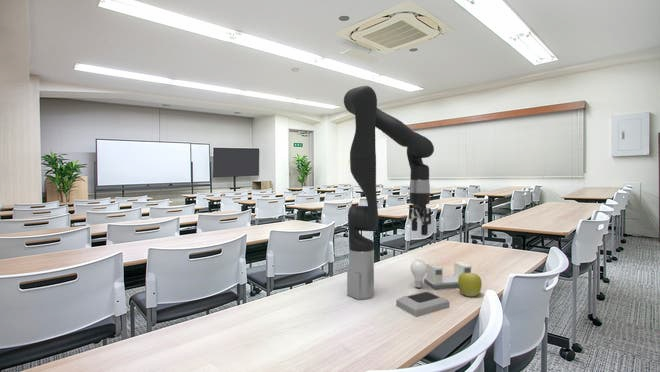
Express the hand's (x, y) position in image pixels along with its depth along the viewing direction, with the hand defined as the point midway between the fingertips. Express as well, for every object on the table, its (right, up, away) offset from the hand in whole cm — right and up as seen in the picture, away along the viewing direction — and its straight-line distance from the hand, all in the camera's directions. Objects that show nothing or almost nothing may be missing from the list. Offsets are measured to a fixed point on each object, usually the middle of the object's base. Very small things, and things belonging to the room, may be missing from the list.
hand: (419, 232), depth 125 cm
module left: (+7, -20, +3) cm, 21 cm away
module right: (+19, -20, +6) cm, 28 cm away
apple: (+17, -22, -6) cm, 29 cm away
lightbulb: (0, -22, +1) cm, 22 cm away
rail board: (+13, -22, +4) cm, 26 cm away
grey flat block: (-3, -23, -16) cm, 29 cm away
